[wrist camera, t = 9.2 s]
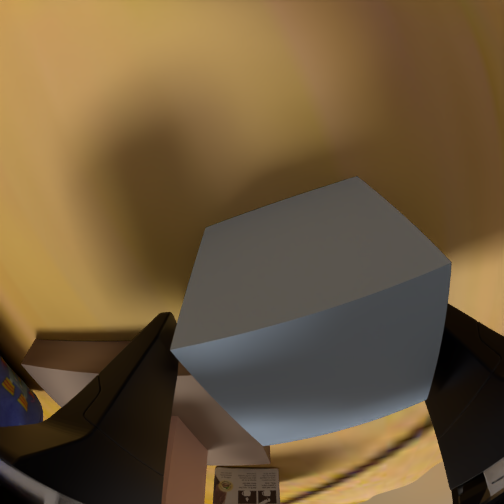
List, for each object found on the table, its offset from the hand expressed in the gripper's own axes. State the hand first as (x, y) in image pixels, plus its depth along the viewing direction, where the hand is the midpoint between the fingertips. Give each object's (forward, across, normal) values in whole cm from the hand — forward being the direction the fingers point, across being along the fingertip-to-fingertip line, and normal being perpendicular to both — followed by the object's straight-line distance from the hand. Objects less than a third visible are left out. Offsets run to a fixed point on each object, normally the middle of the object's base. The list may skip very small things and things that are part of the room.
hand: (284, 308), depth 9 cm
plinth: (+1, +8, +8) cm, 11 cm away
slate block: (+1, -1, -1) cm, 2 cm away
